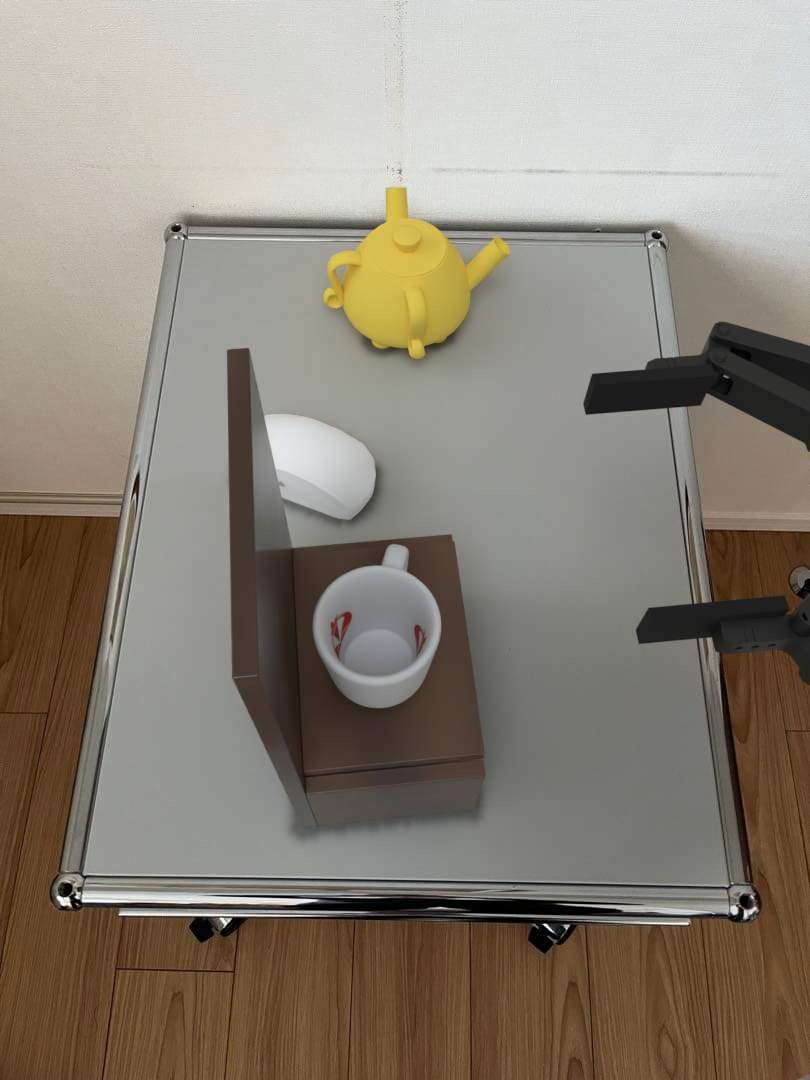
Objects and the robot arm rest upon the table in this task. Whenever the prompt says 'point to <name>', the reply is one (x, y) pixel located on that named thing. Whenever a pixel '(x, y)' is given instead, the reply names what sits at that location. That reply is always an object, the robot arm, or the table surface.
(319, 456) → the computer mouse
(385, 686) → the cup
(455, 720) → the wooden chair
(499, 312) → the table surface
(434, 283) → the teapot
